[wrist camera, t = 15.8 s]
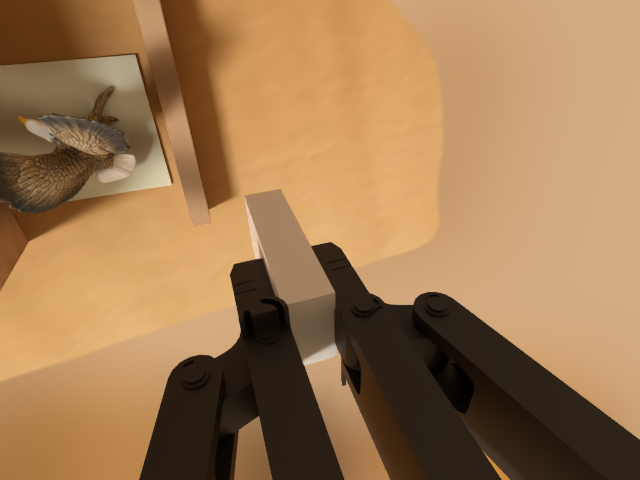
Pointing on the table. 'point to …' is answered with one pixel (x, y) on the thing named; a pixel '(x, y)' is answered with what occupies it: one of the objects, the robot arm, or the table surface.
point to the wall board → (125, 104)
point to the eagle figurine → (65, 159)
